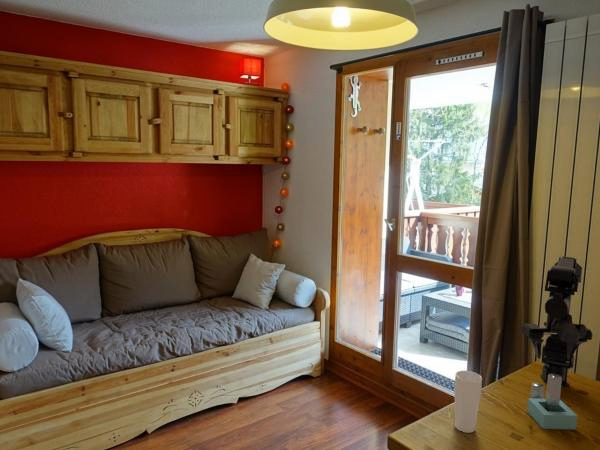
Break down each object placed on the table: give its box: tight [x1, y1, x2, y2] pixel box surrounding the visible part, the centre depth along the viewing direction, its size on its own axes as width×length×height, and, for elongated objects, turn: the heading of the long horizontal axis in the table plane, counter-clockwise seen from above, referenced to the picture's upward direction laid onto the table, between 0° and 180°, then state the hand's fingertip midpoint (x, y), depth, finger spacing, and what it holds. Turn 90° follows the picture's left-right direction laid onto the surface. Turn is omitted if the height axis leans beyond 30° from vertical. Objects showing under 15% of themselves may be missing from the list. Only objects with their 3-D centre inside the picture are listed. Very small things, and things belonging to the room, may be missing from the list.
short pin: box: [529, 382, 545, 399], centre depth 144 cm, size 3×3×4 cm
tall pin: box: [545, 374, 562, 412], centre depth 132 cm, size 3×3×13 cm
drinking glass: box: [453, 370, 483, 434], centre depth 127 cm, size 7×7×15 cm
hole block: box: [526, 398, 578, 430], centre depth 132 cm, size 9×9×4 cm
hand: (553, 358), depth 143 cm, fingers open, 9 cm apart
